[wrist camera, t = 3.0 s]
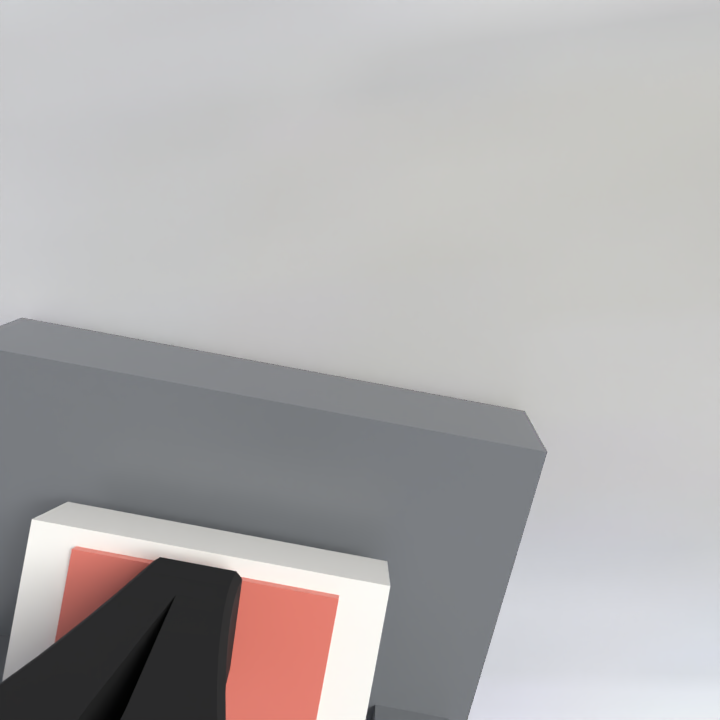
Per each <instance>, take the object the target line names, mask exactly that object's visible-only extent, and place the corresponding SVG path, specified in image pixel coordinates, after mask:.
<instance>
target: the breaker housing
mask: <svg viewBox="0 0 720 720" xmlns="http://www.w3.org/2000/svg"><path fill="white" fill-rule="evenodd" d="M546 454H547V451H546V449H545V447H544V445H543V443H542V442H541V440H540V438H539V436H538V434H537V433H536V431H535V429H534V427H533V425H532V424H531V422H530V420H529V418H528V416H527V415H526V413H525V411H521V410H516V409H510V408H505V407H500V406H494V405H489V404H484V403H478V402H473V401H467V400H462V399H457V398H451V397H446V396H440V395H435V394H430V393H424V392H419V391H414V390H408V389H403V388H397V387H392V386H387V385H381V384H376V383H370V382H365V381H360V380H354V379H349V378H344V377H338V376H333V375H327V374H322V373H317V372H311V371H306V370H300V369H295V368H290V367H284V366H279V365H274V364H268V363H263V362H257V361H252V360H247V359H241V358H236V357H230V356H225V355H220V354H214V353H209V352H204V351H198V350H193V349H187V348H182V347H177V346H171V345H166V344H160V343H155V342H150V341H144V340H139V339H134V338H128V337H123V336H117V335H112V334H107V333H101V332H96V331H91V330H85V329H80V328H74V327H69V326H64V325H58V324H53V323H47V322H42V321H37V320H31V319H26V318H20V319H17V320H15V321H12V322H9V323H7V324H4V325H1V326H0V683H1V682H2V679H3V674H4V668H5V663H6V657H7V652H8V646H9V641H10V635H11V630H12V624H13V619H14V614H15V608H16V603H17V597H18V592H19V586H20V581H21V575H22V570H23V564H24V559H25V554H26V548H27V543H28V537H29V532H30V526H31V521H32V519H33V518H35V517H37V516H39V515H41V514H44V513H46V512H48V511H50V510H52V509H54V508H56V507H58V506H60V505H62V504H64V503H66V502H72V503H78V504H83V505H89V506H94V507H99V508H105V509H110V510H115V511H121V512H126V513H131V514H137V515H142V516H147V517H153V518H158V519H164V520H169V521H174V522H180V523H185V524H190V525H196V526H201V527H206V528H212V529H217V530H223V531H228V532H233V533H239V534H244V535H249V536H255V537H260V538H265V539H271V540H276V541H281V542H287V543H292V544H298V545H303V546H308V547H314V548H319V549H324V550H330V551H335V552H340V553H346V554H351V555H357V556H362V557H367V558H373V559H378V560H383V561H387V563H388V571H389V579H390V591H389V596H388V602H387V607H386V613H385V618H384V623H383V629H382V634H381V639H380V645H379V650H378V656H377V661H376V666H375V672H374V677H373V682H372V688H371V693H370V698H369V704H368V709H367V715H366V720H467V719H468V715H469V712H470V709H471V705H472V702H473V699H474V695H475V692H476V689H477V685H478V682H479V679H480V675H481V672H482V669H483V665H484V662H485V659H486V655H487V652H488V649H489V645H490V642H491V638H492V635H493V632H494V628H495V625H496V622H497V618H498V615H499V612H500V608H501V605H502V602H503V598H504V595H505V592H506V588H507V585H508V582H509V578H510V575H511V572H512V568H513V565H514V561H515V558H516V555H517V551H518V548H519V545H520V541H521V538H522V535H523V531H524V528H525V525H526V521H527V518H528V515H529V511H530V508H531V505H532V501H533V498H534V495H535V491H536V488H537V484H538V481H539V478H540V474H541V471H542V468H543V464H544V461H545V458H546Z"/></svg>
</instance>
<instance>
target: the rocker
mask: <svg viewBox="0 0 720 720" xmlns="http://www.w3.org/2000/svg"><path fill="white" fill-rule="evenodd" d="M159 557H163V558H168V559H173V560H179V561H184V562H190V563H195V564H200V565H206V566H211V567H216V568H222V569H227V570H233V571H237V573H238V574H239V575H240V577H241V578H242V585H241V592H240V600H239V607H238V615H237V622H236V629H235V637H234V644H233V651H232V659H231V666H230V671H229V675H228V679H227V683H226V720H366V715H367V709H368V704H369V698H370V693H371V688H372V682H373V677H374V672H375V666H376V661H377V656H378V650H379V645H380V639H381V634H382V629H383V623H384V618H385V613H386V607H387V602H388V596H389V591H390V579H389V571H388V563H387V561H383V560H378V559H373V558H367V557H362V556H357V555H351V554H346V553H340V552H335V551H330V550H324V549H319V548H314V547H308V546H303V545H298V544H292V543H287V542H281V541H276V540H271V539H265V538H260V537H255V536H249V535H244V534H239V533H233V532H228V531H223V530H217V529H212V528H206V527H201V526H196V525H190V524H185V523H180V522H174V521H169V520H164V519H158V518H153V517H147V516H142V515H137V514H131V513H126V512H121V511H115V510H110V509H105V508H99V507H94V506H89V505H83V504H78V503H72V502H66V503H64V504H62V505H60V506H58V507H56V508H54V509H52V510H50V511H48V512H46V513H44V514H41V515H39V516H37V517H35V518H33V519H32V521H31V526H30V532H29V537H28V543H27V548H26V554H25V559H24V564H23V570H22V575H21V581H20V586H19V592H18V597H17V603H16V608H15V614H14V619H13V624H12V630H11V635H10V641H9V646H8V652H7V657H6V663H5V668H4V674H3V679H2V681H4V680H5V679H7V678H8V677H9V676H11V675H12V674H14V673H15V672H16V671H18V670H19V669H20V668H22V667H23V666H25V665H26V664H27V663H29V662H30V661H31V660H33V659H34V658H36V657H37V656H38V655H40V654H41V653H42V652H43V651H45V650H46V649H47V648H49V647H50V646H51V645H53V644H54V643H55V642H56V641H58V640H59V639H60V638H61V637H63V636H64V635H65V634H66V633H68V632H69V631H70V630H71V629H73V628H74V627H75V626H77V625H78V624H79V623H80V622H82V621H83V620H84V619H85V618H87V617H88V616H89V615H90V614H92V613H93V612H94V611H95V610H96V609H98V608H99V607H100V606H101V605H102V604H104V603H105V602H106V601H107V600H108V599H110V598H111V597H112V596H113V595H114V594H116V593H117V592H118V591H119V590H120V589H121V588H123V587H124V586H125V585H126V584H127V583H128V582H130V581H131V580H132V579H133V578H134V577H135V576H137V575H138V574H139V573H140V572H141V571H142V570H143V569H145V568H146V567H147V566H148V565H149V564H150V563H152V562H153V561H154V560H156V559H158V558H159Z"/></svg>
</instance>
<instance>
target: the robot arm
mask: <svg viewBox="0 0 720 720" xmlns="http://www.w3.org/2000/svg"><path fill="white" fill-rule="evenodd" d="M241 585H242V578H241V577H240V575H239V574H238V573H237V571H233V570H227V569H222V568H216V567H211V566H206V565H200V564H195V563H190V562H184V561H179V560H173V559H168V558H163V557H159V558H158V559H156V560H154V561H153V562H152V563H150V564H149V565H148V566H147V567H146V568H145V569H143V570H142V571H141V572H140V573H139V574H138V575H137V576H135V577H134V578H133V579H132V580H131V581H130V582H128V583H127V584H126V585H125V586H124V587H123V588H121V589H120V590H119V591H118V592H117V593H116V594H114V595H113V596H112V597H111V598H110V599H108V600H107V601H106V602H105V603H104V604H102V605H101V606H100V607H99V608H98V609H96V610H95V611H94V612H93V613H92V614H90V615H89V616H88V617H87V618H85V619H84V620H83V621H82V622H80V623H79V624H78V625H77V626H75V627H74V628H73V629H71V630H70V631H69V632H68V633H66V634H65V635H64V636H63V637H61V638H60V639H59V640H58V641H56V642H55V643H54V644H53V645H51V646H50V647H49V648H47V649H46V650H45V651H43V652H42V653H41V654H40V655H38V656H37V657H36V658H34V659H33V660H31V661H30V662H29V663H27V664H26V665H25V666H23V667H22V668H20V669H19V670H18V671H16V672H15V673H14V674H12V675H11V676H9V677H8V678H7V679H5V680H4V681H2V682H1V683H0V720H226V683H227V679H228V675H229V671H230V666H231V659H232V651H233V644H234V637H235V629H236V622H237V615H238V607H239V600H240V592H241Z"/></svg>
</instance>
